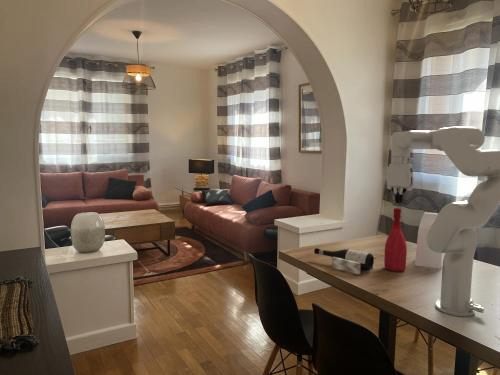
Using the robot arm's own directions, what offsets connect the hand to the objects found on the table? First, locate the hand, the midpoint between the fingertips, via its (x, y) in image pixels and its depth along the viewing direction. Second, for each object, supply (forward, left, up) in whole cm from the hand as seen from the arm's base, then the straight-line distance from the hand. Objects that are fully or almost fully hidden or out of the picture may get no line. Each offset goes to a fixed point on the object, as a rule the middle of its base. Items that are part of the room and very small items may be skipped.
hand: (398, 202), depth 163 cm
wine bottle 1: (+12, -2, -30) cm, 32 cm away
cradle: (+21, 0, -35) cm, 41 cm away
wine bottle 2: (+6, -14, -35) cm, 38 cm away
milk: (-3, -34, -35) cm, 49 cm away
